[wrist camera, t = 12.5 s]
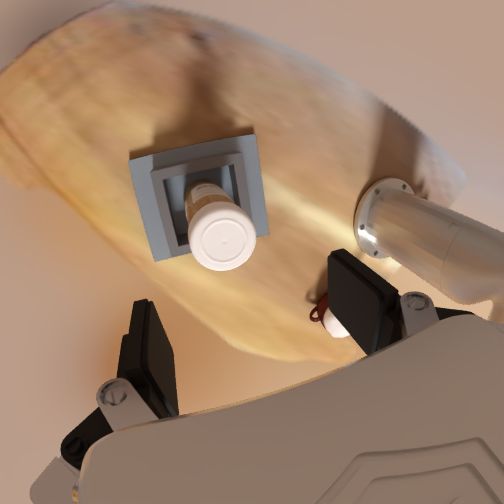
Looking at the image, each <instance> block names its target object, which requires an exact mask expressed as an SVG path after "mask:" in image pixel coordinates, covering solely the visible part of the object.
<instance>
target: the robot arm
mask: <svg viewBox="0 0 504 504" xmlns="http://www.w3.org/2000/svg"><path fill="white" fill-rule="evenodd" d="M354 231H355V237H356V240H357V243H358V245H359V246H360V248H361V249H362V250H363V251H364V252H365V253H366V254H368V255H369V256H371V257H373V258H378V259H381V258H387V257H391V258H392V259H394V260H395V261H397V262H398V263H400V264H401V265H403V266H404V267H406V268H408V269H409V270H410V271H412V272H413V273H415V274H416V275H417V276H419V277H420V278H422V279H423V280H425V281H426V282H427V283H429V284H430V285H432V286H433V287H434V288H436V289H437V290H438V291H440V292H441V293H443V294H444V295H445V296H447V297H448V298H450V299H451V300H453V301H454V302H457V303H459V304H463V305H471V304H476V303H480V302H483V301H486V300H492V301H493V307H492V309H491V312H490V314H489V316H488V319H487V320H485V319H483V318H482V317H479V316H477V315H475V314H474V313H472V312H469V311H463V310H455V309H446V308H438V307H434V304H433V301H432V300H431V298H430V297H428V296H427V295H426V294H424V293H421V292H408V293H405V294H404V295H402V297H401V296H400V295H399V294H398V290H397V289H396V288H395V287H393V286H392V285H391V284H390V283H388V282H387V281H386V280H385V279H383V278H382V277H381V276H379V275H378V274H377V273H376V272H374V271H373V270H372V269H370V268H369V267H368V266H366V265H365V264H364V263H362V262H361V261H360V260H358V259H357V258H356V257H354V256H353V255H352V254H350V253H349V252H348V251H346V250H345V249H339V250H335V251H332V252H331V254H330V255H329V256H328V307H329V310H330V311H331V313H332V314H333V315H334V316H335V317H336V318H337V320H338V321H339V322H340V323H341V324H342V326H343V327H344V328H345V329H346V330H347V332H348V333H349V334H350V335H351V336H352V338H353V339H354V340H355V341H356V342H357V344H358V345H359V346H360V347H361V348H362V350H363V351H364V352H365V353H366V354H367V355H368V356H365V357H363V358H361V359H359V360H356V361H354V362H352V363H350V364H347V365H345V366H342V367H340V368H337V369H335V370H332V371H330V372H327V373H325V374H322V375H320V376H317V377H314V378H312V379H309V380H306V381H303V382H301V383H298V384H295V385H292V386H289V387H286V388H283V389H280V390H277V391H274V392H270V393H267V394H264V395H261V396H257V397H254V398H250V399H247V400H243V401H240V402H236V403H232V404H228V405H224V406H220V407H216V408H211V409H207V410H203V411H199V412H194V413H189V414H184V415H180V416H179V409H178V400H177V389H176V378H175V365H174V353H173V350H172V347H171V344H170V342H169V340H168V337H167V335H166V333H165V330H164V328H163V326H162V323H161V321H160V319H159V316H158V313H157V311H156V308H155V306H154V303H153V302H152V301H150V302H149V301H148V300H147V299H143V300H139V301H134V304H133V309H132V315H131V321H130V327H129V334H126V335H123V338H122V343H121V350H120V356H119V363H118V370H117V378H115V379H111V380H109V381H107V382H105V383H104V384H103V385H102V386H101V387H100V388H99V390H98V392H97V395H96V400H97V403H98V405H99V407H98V408H97V409H96V410H95V411H93V413H91V414H90V415H89V416H88V417H87V418H86V419H85V420H84V421H83V422H81V423H80V424H79V425H78V426H77V427H76V428H75V429H74V430H72V431H71V432H70V433H69V434H68V435H67V436H66V437H65V438H64V440H63V441H62V444H61V456H60V458H58V457H55V458H54V459H53V460H52V462H51V463H50V464H49V465H48V466H47V468H46V469H45V470H44V471H43V472H42V473H41V475H40V476H39V477H38V478H37V479H36V481H35V482H34V483H33V484H32V486H31V488H30V498H31V501H32V502H33V503H34V504H504V233H503V232H501V231H499V230H496V229H494V228H492V227H490V226H487V225H485V224H483V223H481V222H479V221H476V220H474V219H472V218H469V217H467V216H464V215H463V214H460V213H458V212H455V211H453V210H451V209H448V208H446V207H443V206H441V205H438V204H436V203H433V202H431V201H428V200H426V199H423V198H420V197H418V196H415V194H414V191H413V190H412V188H411V187H410V186H409V185H408V184H407V183H406V182H405V181H403V180H401V179H397V178H392V177H389V178H383V179H381V180H378V181H377V182H375V183H374V184H373V185H372V186H371V187H370V188H369V189H368V190H367V191H366V192H365V194H364V195H363V196H362V198H361V200H360V202H359V205H358V207H357V210H356V214H355V220H354Z"/></svg>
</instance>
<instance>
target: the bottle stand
mask: <svg viewBox="0 0 504 504" xmlns="http://www.w3.org/2000/svg"><path fill="white" fill-rule="evenodd" d="M128 163H129V168H130V172H131V177H132V181H133V185H134V190H135V194H136V198H137V202H138V205H139V209H140V213H141V217H142V220H143V224H144V228H145V231H146V235H147V238H148V241H149V245H150V248H151V251H152V255H153V258H154V261H155V262H156V261H160V260H164V259H168V258H172V257H176V256H180V255H184V254H188V253H192V251H191V249H190V245H189V240H188V228H189V225H188V220H187V217H186V211H185V206H184V194H185V191H186V189H187V188H188V186H189V185H190V184H191V183H193V182H194V181H196V180H199V179H210V180H213V181H215V182H217V183H218V184H219V185H220V186H221V188H222V189H223V190H224V191H225V192H226V194H227V195H228V196H229V197H230V198H231V199H232V200H233V201H234V203H235V204H236V205H237V206H239V207H240V208H241V209H242V210H243V211H244V212H245V213H246V214H247V215H248V216H249V218H250V219H251V221H252V222H253V224H254V227H255V230H256V237H259V236H264V235H268V234H269V229H268V222H267V214H266V207H265V199H264V192H263V184H262V177H261V170H260V163H259V156H258V149H257V142H256V135H255V134H250V135H243V136H237V137H231V138H225V139H219V140H214V141H209V142H204V143H199V144H194V145H189V146H184V147H180V148H175V149H171V150H167V151H163V152H159V153H155V154H151V155H147V156H143V157H140V158H136V159H132V160H129V161H128Z"/></svg>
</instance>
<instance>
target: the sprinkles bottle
mask: <svg viewBox="0 0 504 504" xmlns="http://www.w3.org/2000/svg"><path fill="white" fill-rule="evenodd" d="M184 206H185V211H186V217H187V220H188V225H189V228H188V240H189V245H190V249H191V251H192V254H193V255H194V257H195V259H196V260H197V261H198V262H199V263H200V264H202V265H203V266H205V267H207V268H209V269H212V270H217V271H225V270H230V269H233V268H236V267H238V266H240V265H241V264H243V263H244V262H245V261H246V260H247V259H248V258H249V257H250V255H251V254H252V252H253V250H254V247H255V244H256V230H255V227H254V224H253V222H252V221H251V219H250V218H249V216H248V215H247V214H246V213H245V212H244V211H243V210H242V209H241V208H240V207H239V206H237V205H236V204H235V203H234V201H233V200H232V199H231V198H230V197H229V196H228V195H227V194H226V192H225V191H224V190H223V189H222V188H221V186H220V185H219V184H218V183H217V182H215V181H213V180H210V179H199V180H196V181H194V182H193V183H191V184H190V185H189V186H188V188H187V189H186V191H185V194H184Z"/></svg>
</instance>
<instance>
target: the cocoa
mask: <svg viewBox="0 0 504 504" xmlns="http://www.w3.org/2000/svg"><path fill="white" fill-rule="evenodd" d="M316 311H317V314H318V317H317V318H313V317H312V315H313V314H314V313H315V312H316ZM310 320H311V321H313V322H318V321H321V323H322V325H323V326H324V328H325V329H326V330H328V331H329V332H330V334H331V335H332V336H333V337H340V338H342V337H345V336H348V335H350V334H349V333H348V332H347V330H346V329H345V328H344V327H343V326H342V324H341V323H340V322H339V321H338V320H337V318H336V317H335V316H334V315H333V314H332V313H331V311H330V310H329V307H328V293H326V294H325V295H324V296H323V297H322V298H321V299H320V301H319V303H318V306H316V307H315V308H314V309H313V310H312V311H311V313H310Z"/></svg>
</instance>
